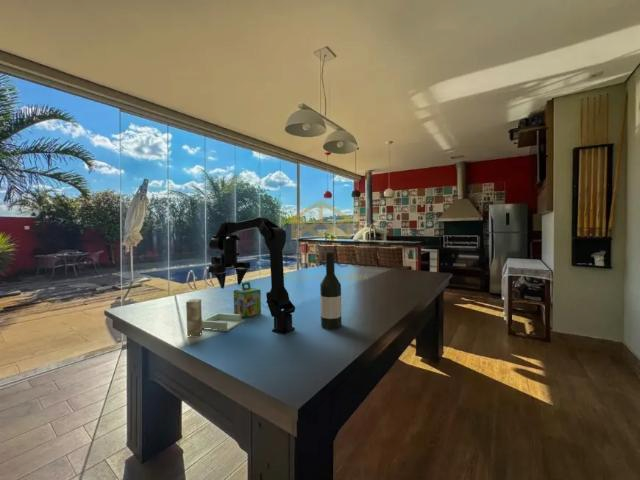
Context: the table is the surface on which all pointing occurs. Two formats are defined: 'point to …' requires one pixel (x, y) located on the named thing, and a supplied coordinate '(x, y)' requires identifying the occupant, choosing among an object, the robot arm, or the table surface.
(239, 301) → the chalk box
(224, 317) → the tray
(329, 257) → the wine bottle
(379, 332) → the table surface
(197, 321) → the post
